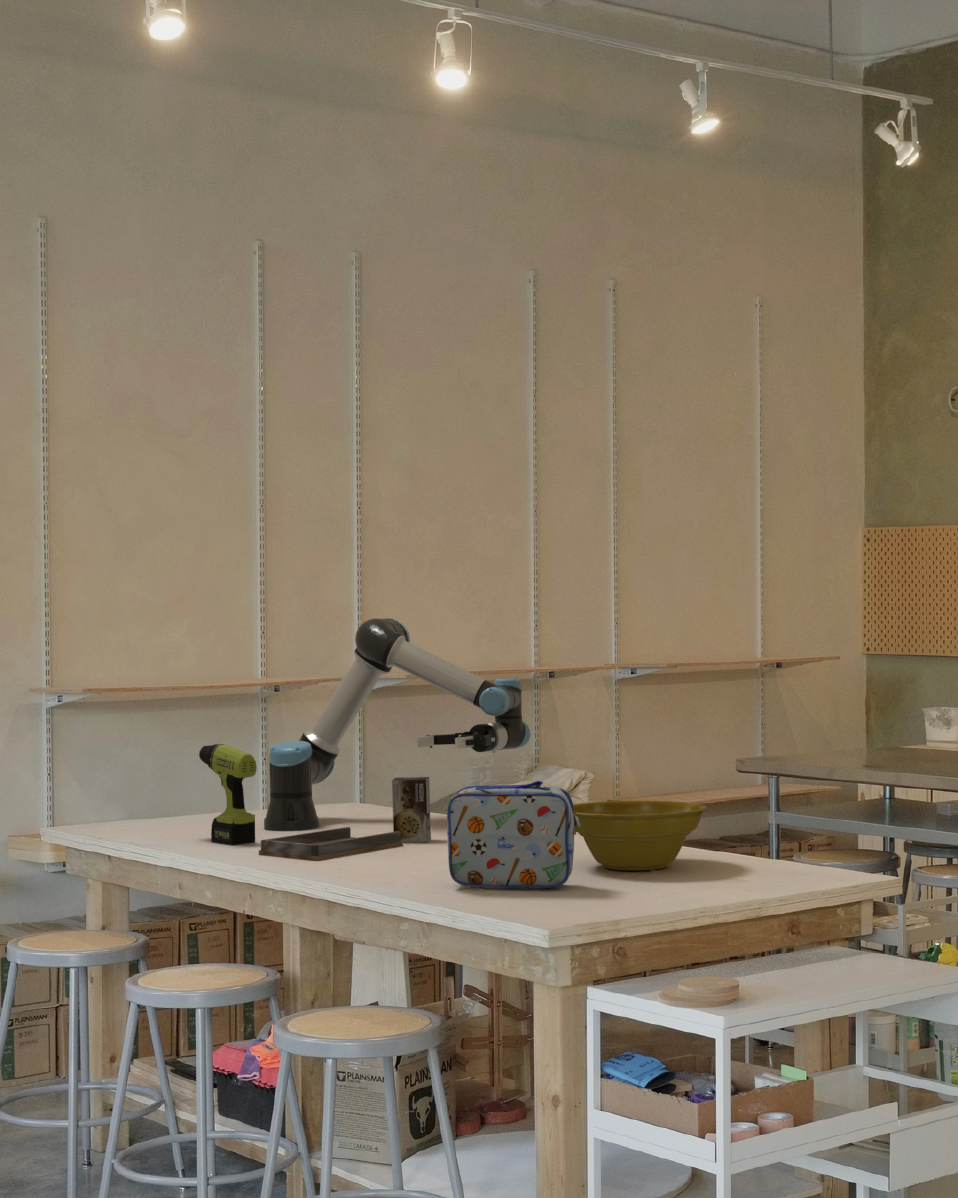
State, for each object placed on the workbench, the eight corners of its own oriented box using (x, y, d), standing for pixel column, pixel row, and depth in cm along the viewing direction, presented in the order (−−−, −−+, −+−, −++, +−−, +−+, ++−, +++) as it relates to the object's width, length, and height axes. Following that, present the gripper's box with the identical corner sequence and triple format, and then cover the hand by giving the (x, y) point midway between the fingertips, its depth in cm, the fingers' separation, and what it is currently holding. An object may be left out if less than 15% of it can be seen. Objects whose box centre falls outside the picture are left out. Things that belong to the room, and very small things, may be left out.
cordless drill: (188, 838, 403) (187, 743, 403) (211, 835, 407) (210, 742, 408) (237, 846, 386) (236, 747, 386) (260, 843, 390) (259, 745, 391)
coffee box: (431, 839, 392) (430, 776, 392) (428, 843, 385) (427, 778, 386) (396, 839, 393) (395, 776, 393) (392, 843, 386) (391, 779, 387)
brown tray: (258, 854, 369) (258, 840, 370) (344, 840, 393) (344, 826, 393) (317, 860, 357) (317, 845, 357) (403, 845, 380) (402, 831, 380)
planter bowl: (570, 856, 357) (569, 798, 357) (709, 857, 352) (708, 798, 352) (553, 878, 325) (552, 814, 326) (706, 879, 320) (705, 815, 320)
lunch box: (583, 883, 317) (581, 777, 318) (578, 892, 307) (576, 782, 307) (453, 882, 321) (451, 778, 322) (444, 891, 311) (442, 782, 312)
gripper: (524, 752, 406) (473, 758, 389) (452, 750, 421) (400, 756, 405) (523, 724, 406) (473, 729, 389) (451, 723, 422) (400, 727, 405)
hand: (436, 742), depth 397 cm, fingers open, 13 cm apart
